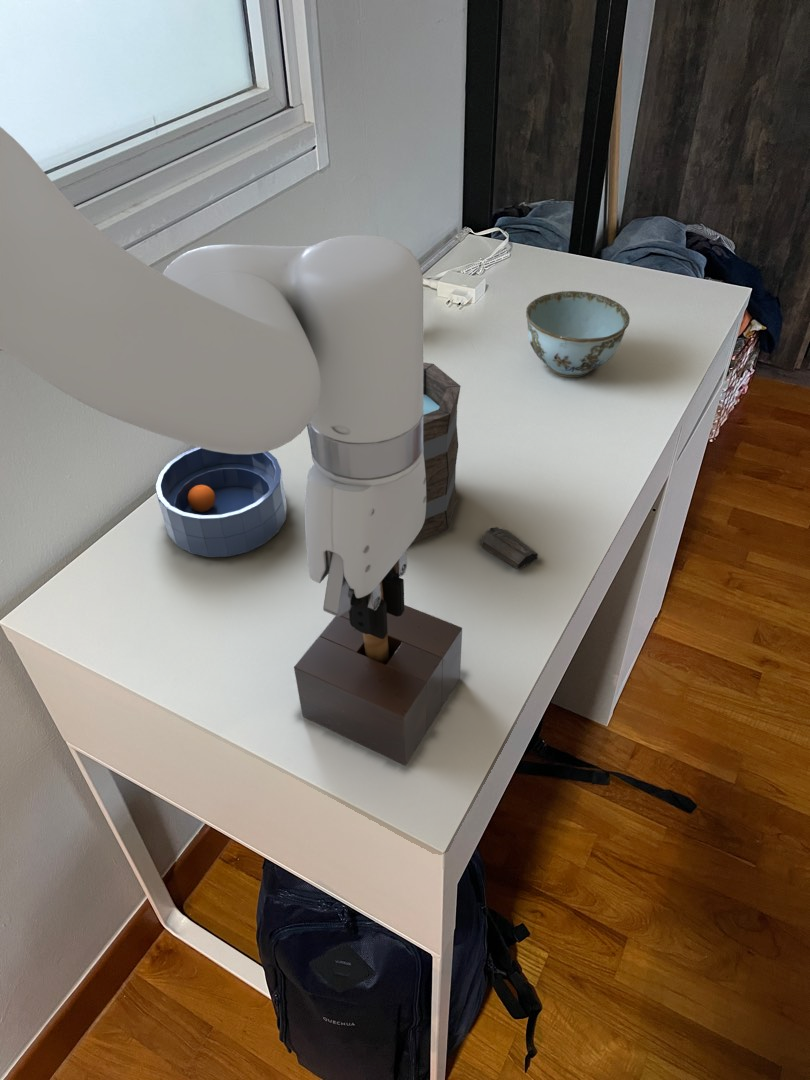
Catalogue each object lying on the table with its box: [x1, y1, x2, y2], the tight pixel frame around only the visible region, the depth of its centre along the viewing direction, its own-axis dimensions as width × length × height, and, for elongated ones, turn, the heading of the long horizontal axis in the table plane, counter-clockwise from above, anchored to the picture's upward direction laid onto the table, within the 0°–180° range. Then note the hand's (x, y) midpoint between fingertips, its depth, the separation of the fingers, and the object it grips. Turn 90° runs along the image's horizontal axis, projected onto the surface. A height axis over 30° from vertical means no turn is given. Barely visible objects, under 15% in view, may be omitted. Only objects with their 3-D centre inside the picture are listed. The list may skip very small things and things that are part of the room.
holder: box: [293, 604, 463, 766], centre depth 71 cm, size 10×10×7 cm
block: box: [481, 526, 539, 570], centre depth 86 cm, size 4×6×2 cm, turn 41°
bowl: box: [525, 290, 631, 378], centre depth 111 cm, size 14×13×8 cm
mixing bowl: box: [155, 446, 288, 558], centre depth 90 cm, size 13×13×6 cm
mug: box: [306, 362, 462, 545], centre depth 89 cm, size 20×14×15 cm
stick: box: [363, 581, 390, 665], centre depth 68 cm, size 2×2×16 cm
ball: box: [188, 485, 215, 512], centre depth 91 cm, size 3×3×3 cm
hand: (377, 618), depth 66 cm, fingers closed on stick, 2 cm apart
